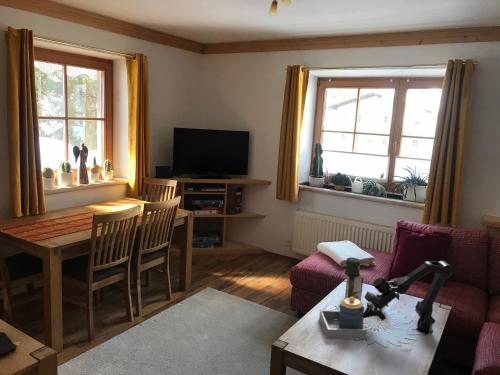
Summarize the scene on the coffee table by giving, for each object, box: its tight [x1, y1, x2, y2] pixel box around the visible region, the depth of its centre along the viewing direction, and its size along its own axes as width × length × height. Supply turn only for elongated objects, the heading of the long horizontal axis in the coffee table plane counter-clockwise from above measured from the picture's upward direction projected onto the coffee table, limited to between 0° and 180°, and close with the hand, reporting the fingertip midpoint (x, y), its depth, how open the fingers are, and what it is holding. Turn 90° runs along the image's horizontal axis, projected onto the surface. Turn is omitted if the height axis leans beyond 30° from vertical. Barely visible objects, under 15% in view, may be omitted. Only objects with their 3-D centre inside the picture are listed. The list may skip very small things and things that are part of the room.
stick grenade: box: [344, 257, 361, 298], centre depth 234 cm, size 8×9×30 cm
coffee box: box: [344, 275, 364, 302], centre depth 246 cm, size 9×6×16 cm
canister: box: [338, 297, 365, 329], centre depth 211 cm, size 13×13×18 cm
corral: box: [318, 309, 368, 340], centre depth 212 cm, size 20×20×5 cm
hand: (362, 317), depth 212 cm, fingers closed
